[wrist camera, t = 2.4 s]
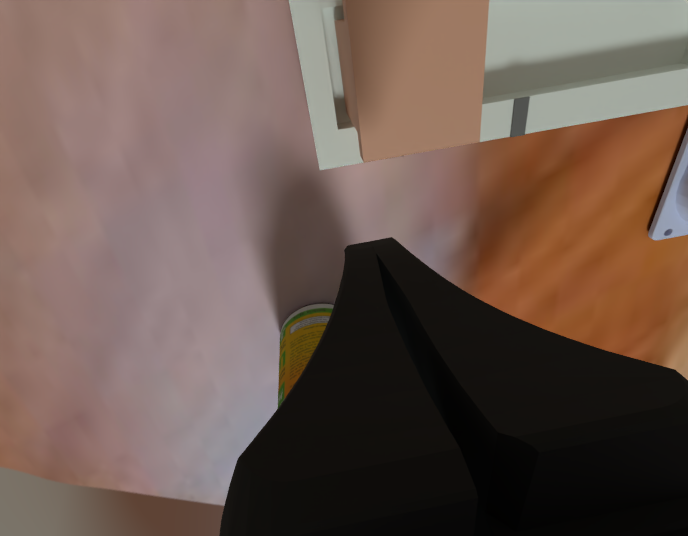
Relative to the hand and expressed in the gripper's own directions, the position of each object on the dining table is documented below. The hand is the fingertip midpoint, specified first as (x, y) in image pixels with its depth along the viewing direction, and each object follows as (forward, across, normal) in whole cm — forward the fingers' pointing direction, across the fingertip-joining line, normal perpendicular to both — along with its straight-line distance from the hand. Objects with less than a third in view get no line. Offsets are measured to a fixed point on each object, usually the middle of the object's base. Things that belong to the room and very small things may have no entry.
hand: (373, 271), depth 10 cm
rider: (+8, -3, -4) cm, 9 cm away
